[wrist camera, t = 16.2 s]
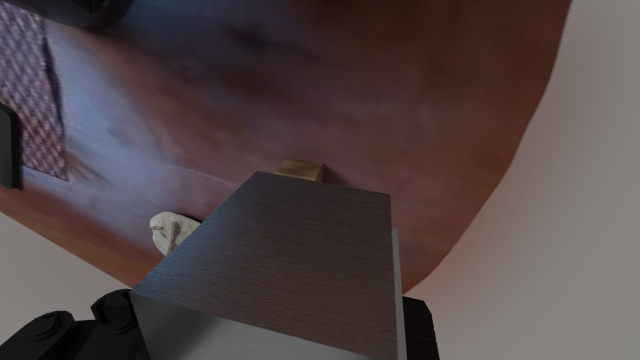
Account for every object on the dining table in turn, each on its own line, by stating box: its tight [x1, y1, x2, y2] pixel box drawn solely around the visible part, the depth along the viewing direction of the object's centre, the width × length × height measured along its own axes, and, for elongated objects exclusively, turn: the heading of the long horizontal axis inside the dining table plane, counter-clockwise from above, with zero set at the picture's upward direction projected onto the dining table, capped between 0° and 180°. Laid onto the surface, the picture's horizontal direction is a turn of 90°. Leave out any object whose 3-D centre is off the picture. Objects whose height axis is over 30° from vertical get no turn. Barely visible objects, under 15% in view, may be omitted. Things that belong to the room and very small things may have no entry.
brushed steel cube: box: [129, 171, 398, 360], centre depth 10 cm, size 6×7×7 cm
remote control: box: [0, 102, 19, 189], centre depth 40 cm, size 5×2×15 cm
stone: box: [149, 212, 200, 257], centre depth 39 cm, size 12×9×3 cm
